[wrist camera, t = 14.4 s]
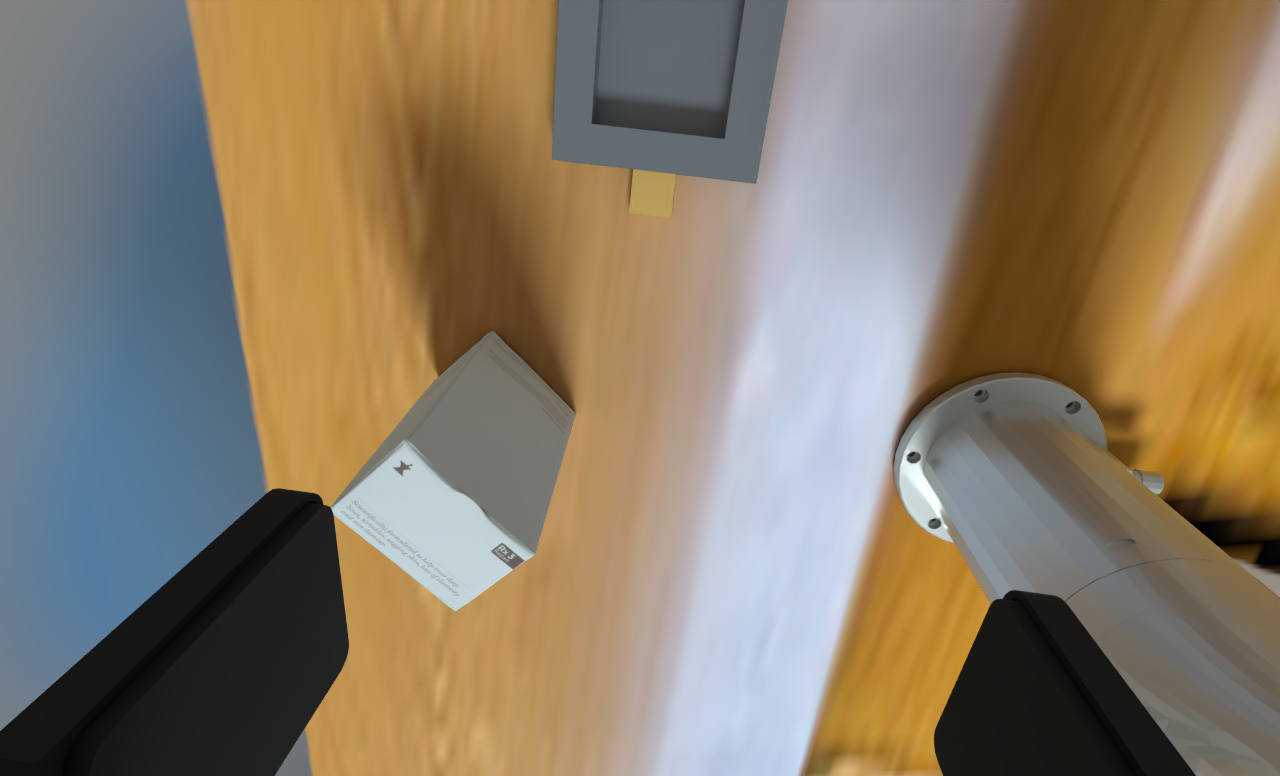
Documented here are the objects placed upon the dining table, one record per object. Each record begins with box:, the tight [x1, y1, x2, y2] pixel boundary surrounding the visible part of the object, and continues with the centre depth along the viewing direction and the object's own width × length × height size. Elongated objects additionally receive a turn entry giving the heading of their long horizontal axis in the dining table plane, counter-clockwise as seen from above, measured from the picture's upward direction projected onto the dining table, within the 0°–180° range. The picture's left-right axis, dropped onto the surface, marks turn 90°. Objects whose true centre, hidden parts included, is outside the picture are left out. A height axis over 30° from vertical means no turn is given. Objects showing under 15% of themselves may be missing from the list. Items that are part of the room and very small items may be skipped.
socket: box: [552, 0, 788, 218], centre depth 32 cm, size 11×14×2 cm
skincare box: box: [330, 331, 576, 611], centre depth 35 cm, size 8×6×15 cm
